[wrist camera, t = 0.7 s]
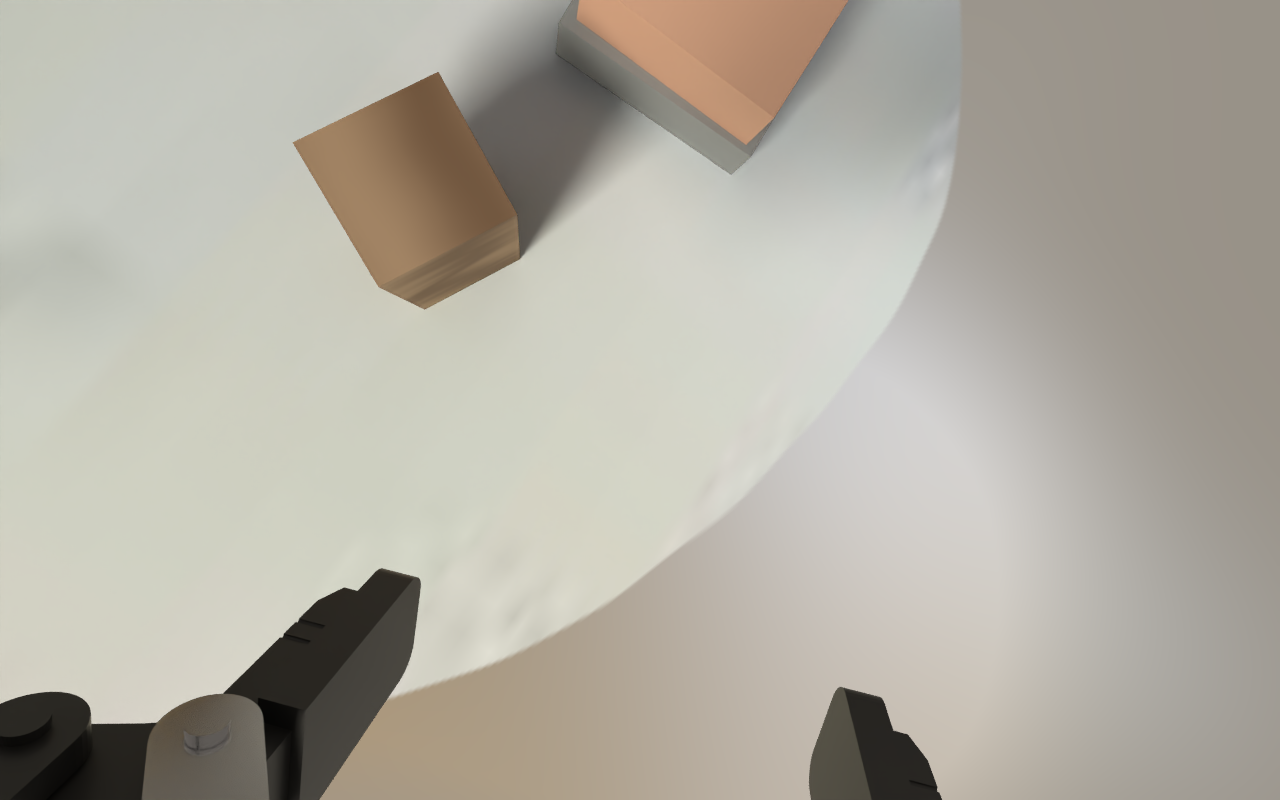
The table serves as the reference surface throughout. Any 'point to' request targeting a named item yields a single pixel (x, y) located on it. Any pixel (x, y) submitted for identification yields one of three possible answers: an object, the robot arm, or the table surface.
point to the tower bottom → (649, 94)
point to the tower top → (719, 50)
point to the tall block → (415, 193)
